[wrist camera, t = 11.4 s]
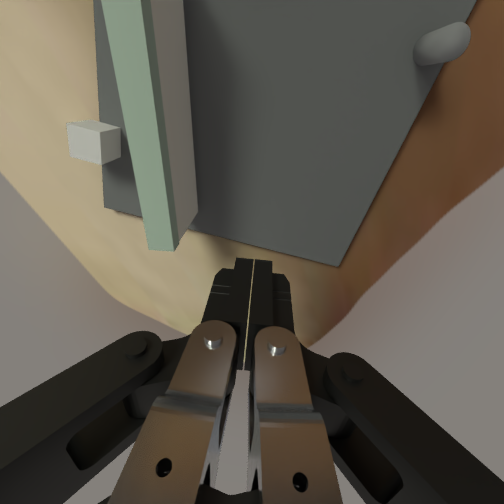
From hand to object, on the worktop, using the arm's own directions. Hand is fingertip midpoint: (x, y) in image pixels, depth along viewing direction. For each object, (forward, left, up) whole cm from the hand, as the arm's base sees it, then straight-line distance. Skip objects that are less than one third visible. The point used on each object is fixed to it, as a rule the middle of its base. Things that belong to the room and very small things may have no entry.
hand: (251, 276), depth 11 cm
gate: (-7, +3, -13) cm, 16 cm away
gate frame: (-3, +5, -15) cm, 16 cm away
